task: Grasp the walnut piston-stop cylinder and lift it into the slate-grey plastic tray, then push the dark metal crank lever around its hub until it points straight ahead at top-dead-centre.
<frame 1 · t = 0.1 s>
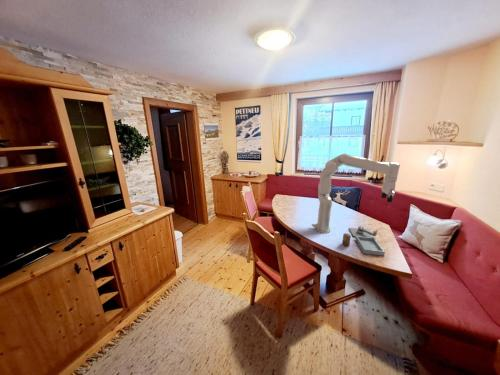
hand: (386, 199, 151), 31 cm above the table, tool pointing down, fingers open, 9 cm apart
tray: (368, 246, 143), on the table
crank: (367, 229, 155), point 6 cm above the table, hinge at -50.0°
crank base: (360, 233, 161), on the table
stop: (345, 244, 146), on the table
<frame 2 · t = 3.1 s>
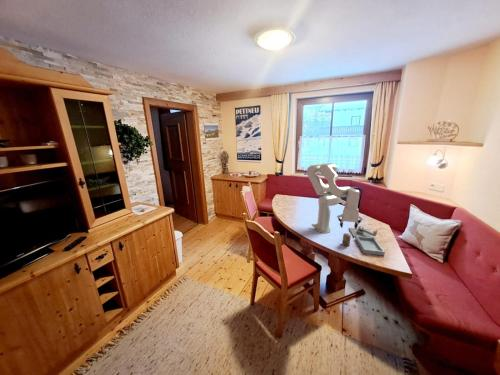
hand: (348, 227, 142), 14 cm above the table, tool pointing down, fingers open, 9 cm apart
nothing on the table moved.
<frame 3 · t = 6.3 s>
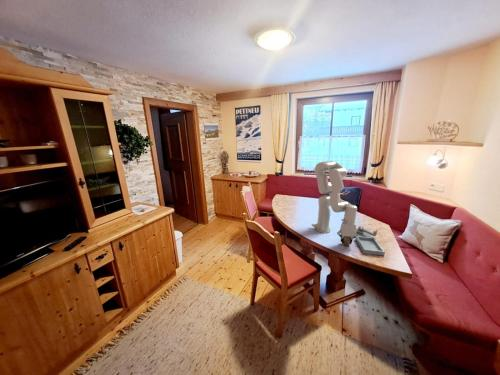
hand: (346, 242, 145), 1 cm above the table, tool pointing down, fingers closed on stop, 5 cm apart
stop: (345, 244, 146), on the table, touching gripper
everything else where it was.
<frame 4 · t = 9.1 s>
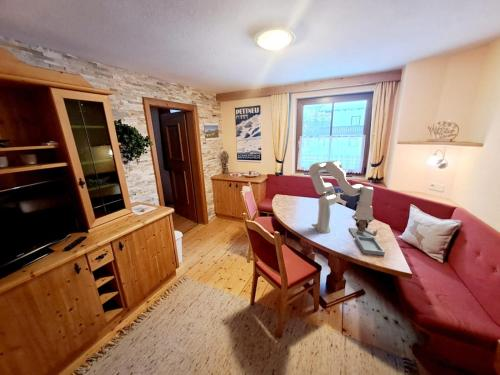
hand: (361, 227, 139), 16 cm above the table, tool pointing down, fingers closed on stop, 5 cm apart
stop: (361, 228, 140), point 14 cm above the table, touching gripper
everything else where it was.
when the fingers open (4 cm above the table, at t = 12.3 s): stop drops 1 cm, resting on tray.
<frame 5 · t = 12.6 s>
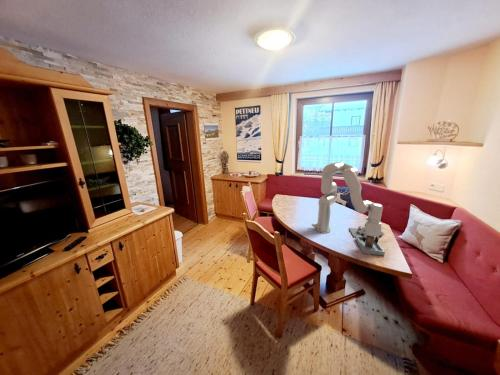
hand: (369, 241, 141), 4 cm above the table, tool pointing down, fingers open, 7 cm apart
stop: (368, 245, 142), point 1 cm above the table, touching tray
everything else where it was.
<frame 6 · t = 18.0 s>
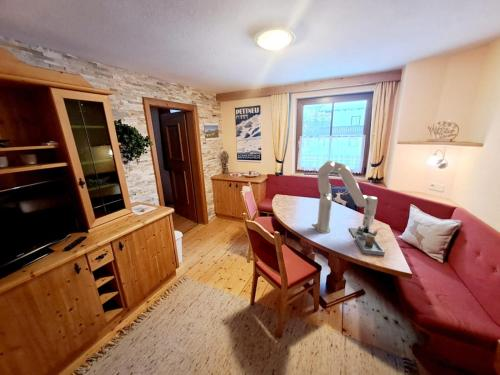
hand: (365, 232, 154), 4 cm above the table, tool pointing down, fingers closed
crank: (367, 229, 155), point 6 cm above the table, hinge at -47.3°, touching gripper
everything else where it was.
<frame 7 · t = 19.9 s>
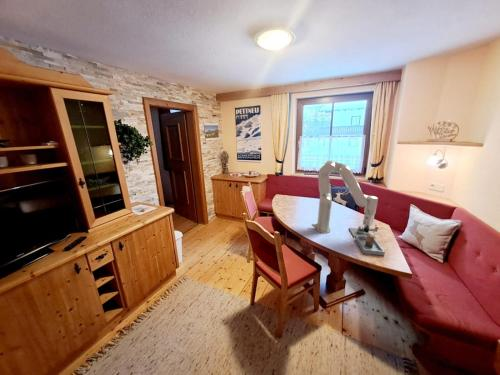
hand: (365, 232, 156), 4 cm above the table, tool pointing down, fingers closed
crank: (368, 227, 158), point 6 cm above the table, hinge at -1.9°
everything else where it was.
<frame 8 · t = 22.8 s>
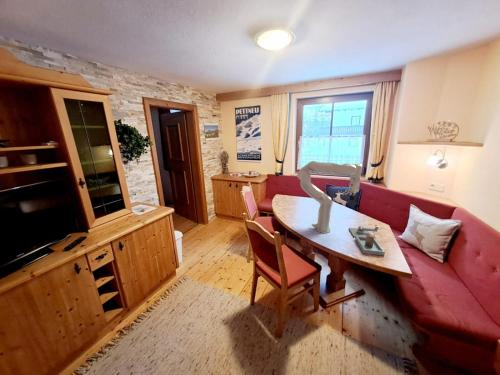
hand: (351, 200, 162), 27 cm above the table, tool pointing down, fingers closed
nothing on the table moved.
at the end: stop inside the target area on the tray (0.2 cm from its centre), point 0.8 cm above the tray's base; stop tilted 1°; crank at -2° (first picture: -50°) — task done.
